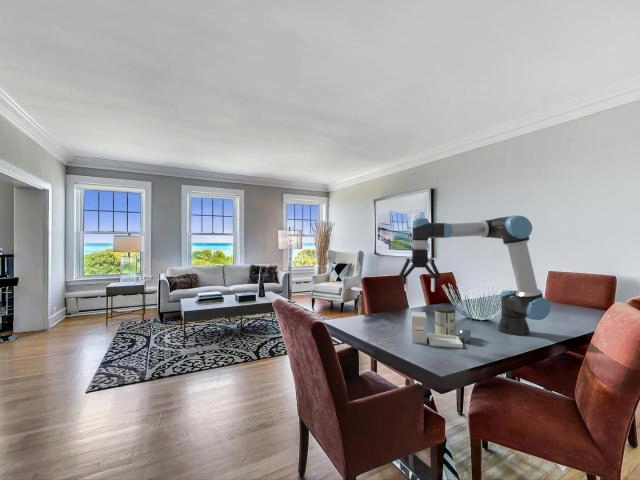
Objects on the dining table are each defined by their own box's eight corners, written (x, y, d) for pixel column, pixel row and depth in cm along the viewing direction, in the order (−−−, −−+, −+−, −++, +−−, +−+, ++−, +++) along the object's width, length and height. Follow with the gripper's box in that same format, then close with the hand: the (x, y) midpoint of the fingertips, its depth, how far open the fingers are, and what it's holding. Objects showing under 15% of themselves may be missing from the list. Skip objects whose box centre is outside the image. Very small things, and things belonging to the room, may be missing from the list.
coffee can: (439, 331, 176) (439, 306, 176) (458, 335, 169) (458, 308, 169) (431, 335, 168) (431, 309, 169) (451, 339, 161) (451, 311, 162)
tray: (457, 339, 161) (457, 335, 161) (462, 348, 147) (462, 344, 147) (427, 337, 165) (427, 333, 165) (429, 346, 150) (429, 341, 150)
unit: (425, 337, 165) (425, 312, 165) (426, 344, 154) (426, 317, 154) (411, 336, 167) (411, 311, 167) (411, 342, 155) (411, 316, 156)
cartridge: (469, 341, 158) (469, 329, 158) (471, 344, 153) (471, 331, 153) (458, 340, 159) (458, 328, 160) (460, 343, 155) (460, 331, 155)
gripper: (441, 249, 162) (440, 290, 162) (393, 248, 162) (392, 289, 161) (447, 249, 155) (447, 292, 155) (397, 248, 154) (396, 291, 154)
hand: (419, 291), depth 158 cm, fingers open, 13 cm apart
